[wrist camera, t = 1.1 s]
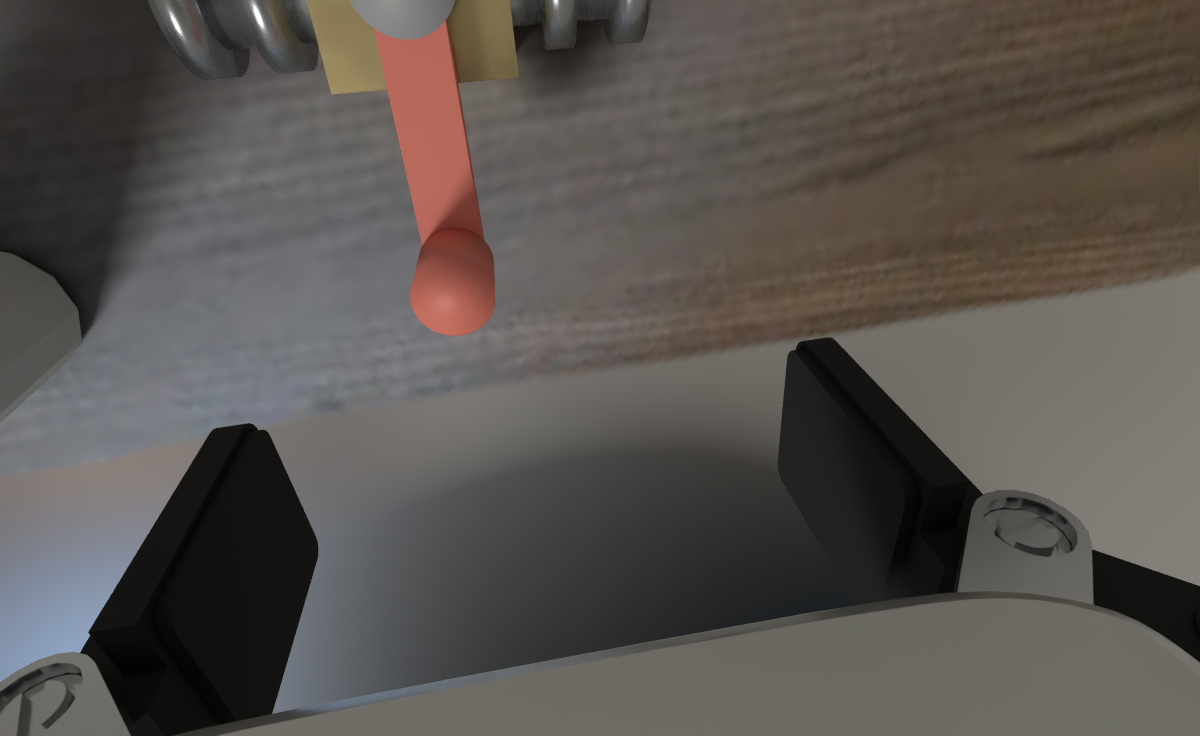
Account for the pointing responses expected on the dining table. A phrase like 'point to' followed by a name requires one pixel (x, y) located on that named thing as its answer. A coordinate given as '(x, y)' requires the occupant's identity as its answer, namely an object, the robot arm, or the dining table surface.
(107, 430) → the dining table surface
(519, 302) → the dining table surface
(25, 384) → the water bottle
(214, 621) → the robot arm
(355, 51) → the valve
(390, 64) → the lever
